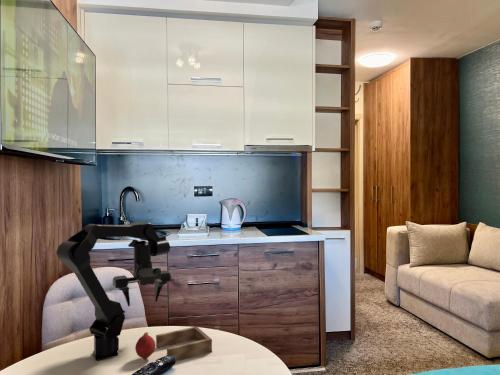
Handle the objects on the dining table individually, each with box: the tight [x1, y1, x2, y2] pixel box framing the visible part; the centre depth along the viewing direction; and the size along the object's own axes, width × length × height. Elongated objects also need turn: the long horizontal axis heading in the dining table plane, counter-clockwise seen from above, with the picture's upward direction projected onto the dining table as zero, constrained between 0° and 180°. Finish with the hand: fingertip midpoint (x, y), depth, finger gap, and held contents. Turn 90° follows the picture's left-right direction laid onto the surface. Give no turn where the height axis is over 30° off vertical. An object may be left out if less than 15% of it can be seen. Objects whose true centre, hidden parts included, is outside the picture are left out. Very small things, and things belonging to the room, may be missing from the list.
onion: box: [134, 331, 156, 360], centre depth 108 cm, size 6×6×8 cm
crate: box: [155, 325, 213, 362], centre depth 115 cm, size 14×12×4 cm
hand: (142, 303), depth 123 cm, fingers open, 9 cm apart
